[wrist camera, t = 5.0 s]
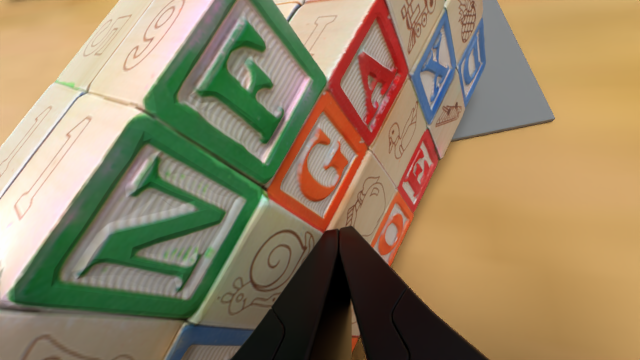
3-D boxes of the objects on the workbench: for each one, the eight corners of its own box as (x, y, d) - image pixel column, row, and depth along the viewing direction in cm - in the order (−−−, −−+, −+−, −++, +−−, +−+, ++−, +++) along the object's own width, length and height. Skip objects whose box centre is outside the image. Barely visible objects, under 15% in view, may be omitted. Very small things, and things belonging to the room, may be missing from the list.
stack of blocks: (386, 61, 20) (278, -202, 10) (489, 65, 16) (467, -351, 6) (209, 379, 16) (-239, 427, 6) (290, 487, 12) (-565, 1046, 2)
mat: (552, 121, 17) (555, 118, 17) (166, 199, 20) (163, 197, 20) (472, -42, 22) (474, -46, 22) (175, 40, 25) (172, 37, 25)
